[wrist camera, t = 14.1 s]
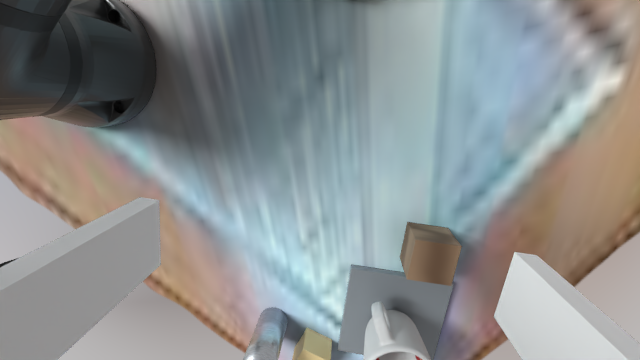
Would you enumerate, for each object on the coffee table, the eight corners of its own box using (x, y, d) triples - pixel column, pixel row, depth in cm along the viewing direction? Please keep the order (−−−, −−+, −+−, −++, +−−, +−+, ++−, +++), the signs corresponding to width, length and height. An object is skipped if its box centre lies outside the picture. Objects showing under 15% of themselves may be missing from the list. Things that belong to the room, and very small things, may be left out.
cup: (344, 293, 42) (343, 338, 34) (403, 275, 40) (416, 319, 32) (371, 357, 44) (376, 413, 36) (427, 343, 43) (445, 398, 35)
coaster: (337, 345, 45) (337, 350, 44) (351, 264, 41) (351, 268, 41) (429, 360, 44) (431, 365, 43) (451, 279, 41) (453, 284, 40)
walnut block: (399, 257, 41) (406, 279, 36) (407, 221, 39) (415, 239, 35) (438, 263, 41) (451, 286, 36) (447, 227, 39) (461, 246, 34)
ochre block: (294, 346, 46) (290, 370, 42) (307, 327, 45) (303, 349, 41) (319, 358, 46) (316, 382, 42) (332, 339, 45) (330, 362, 41)
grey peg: (259, 329, 45) (238, 384, 37) (260, 305, 44) (240, 357, 36) (286, 333, 45) (272, 390, 37) (289, 310, 44) (274, 362, 36)
